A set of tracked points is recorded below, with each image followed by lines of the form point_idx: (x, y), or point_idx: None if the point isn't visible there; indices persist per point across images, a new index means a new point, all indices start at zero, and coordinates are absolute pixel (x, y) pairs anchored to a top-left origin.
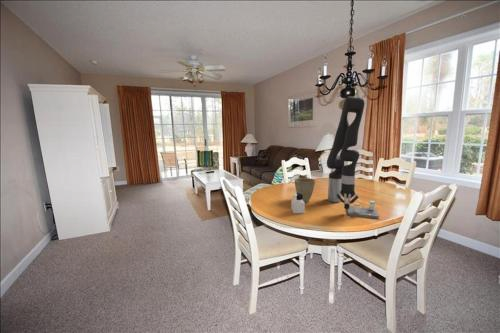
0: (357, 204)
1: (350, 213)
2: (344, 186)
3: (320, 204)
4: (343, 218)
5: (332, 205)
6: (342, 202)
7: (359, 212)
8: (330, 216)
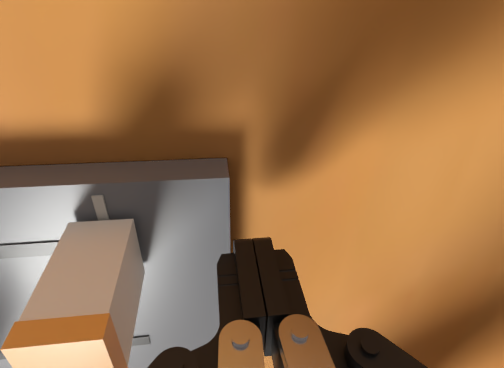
0: (51, 347)
1: (193, 176)
2: None
3: (461, 326)
4: (300, 8)
5: None
6: (361, 329)
7: None
8: (483, 32)
